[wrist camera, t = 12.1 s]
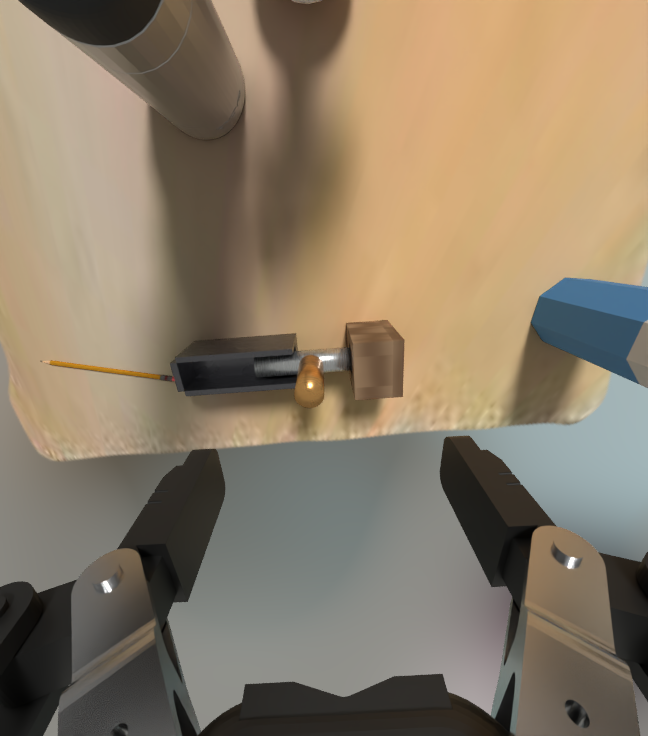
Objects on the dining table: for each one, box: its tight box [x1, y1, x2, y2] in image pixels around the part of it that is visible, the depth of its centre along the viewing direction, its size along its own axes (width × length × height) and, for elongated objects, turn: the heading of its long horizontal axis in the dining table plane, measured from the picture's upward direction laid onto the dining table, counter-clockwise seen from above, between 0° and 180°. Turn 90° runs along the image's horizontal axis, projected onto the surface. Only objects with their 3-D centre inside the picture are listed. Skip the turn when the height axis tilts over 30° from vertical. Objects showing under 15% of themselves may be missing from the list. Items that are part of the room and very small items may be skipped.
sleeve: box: [170, 333, 298, 396], centre depth 40 cm, size 15×5×6 cm, turn 94°
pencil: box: [41, 361, 175, 381], centre depth 43 cm, size 19×1×1 cm, turn 81°
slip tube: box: [254, 347, 352, 408], centre depth 35 cm, size 16×3×11 cm, turn 94°
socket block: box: [346, 320, 404, 400], centre depth 38 cm, size 6×7×9 cm
